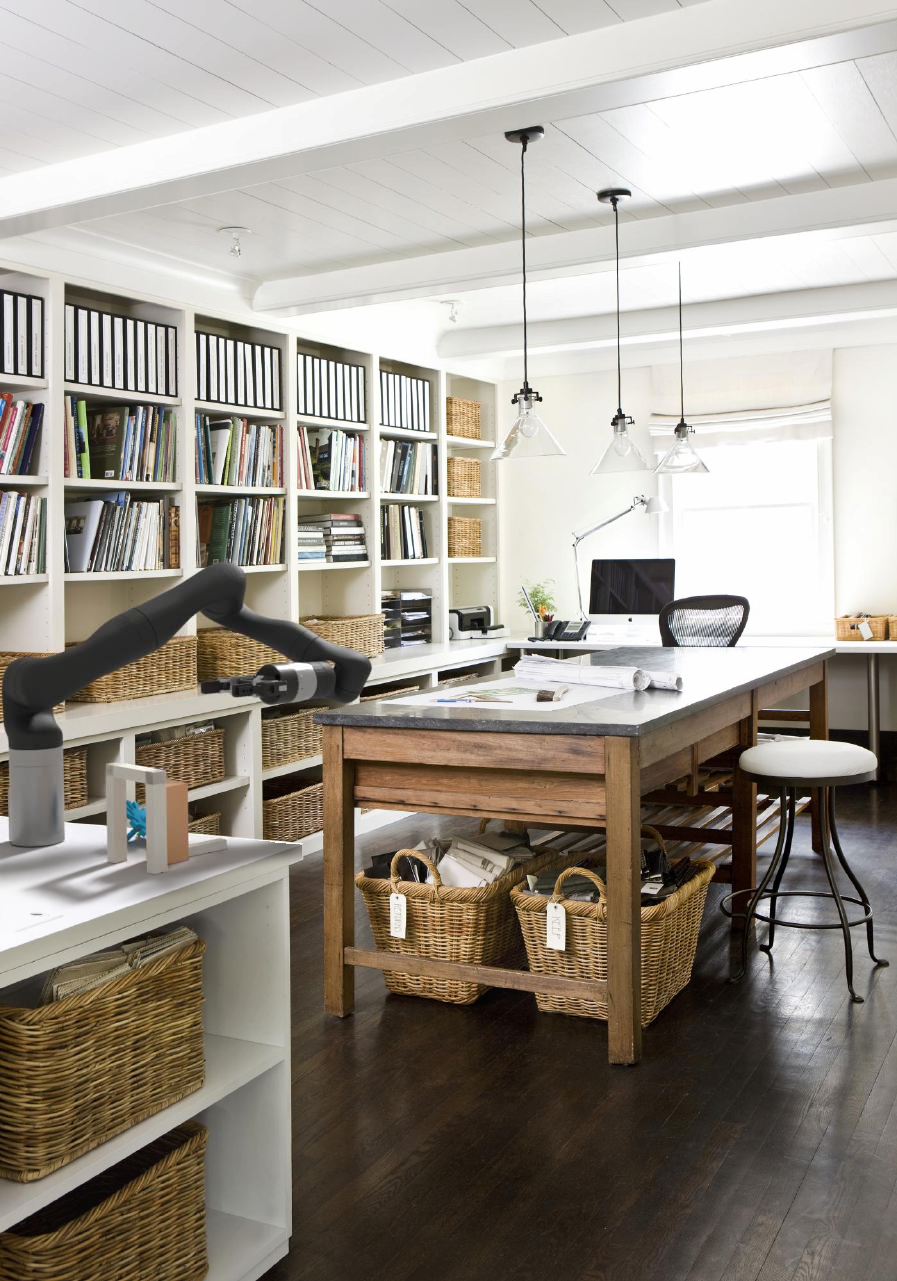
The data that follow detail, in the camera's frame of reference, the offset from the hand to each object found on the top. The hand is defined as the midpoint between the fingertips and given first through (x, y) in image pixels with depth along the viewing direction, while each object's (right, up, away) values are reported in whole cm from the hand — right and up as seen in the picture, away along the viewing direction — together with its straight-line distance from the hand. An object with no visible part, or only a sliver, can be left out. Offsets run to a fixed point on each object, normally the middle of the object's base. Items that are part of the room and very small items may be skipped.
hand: (217, 689), depth 201 cm
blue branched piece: (-14, -28, +6) cm, 32 cm away
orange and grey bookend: (-4, -28, -4) cm, 29 cm away
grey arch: (-11, -29, -12) cm, 33 cm away
